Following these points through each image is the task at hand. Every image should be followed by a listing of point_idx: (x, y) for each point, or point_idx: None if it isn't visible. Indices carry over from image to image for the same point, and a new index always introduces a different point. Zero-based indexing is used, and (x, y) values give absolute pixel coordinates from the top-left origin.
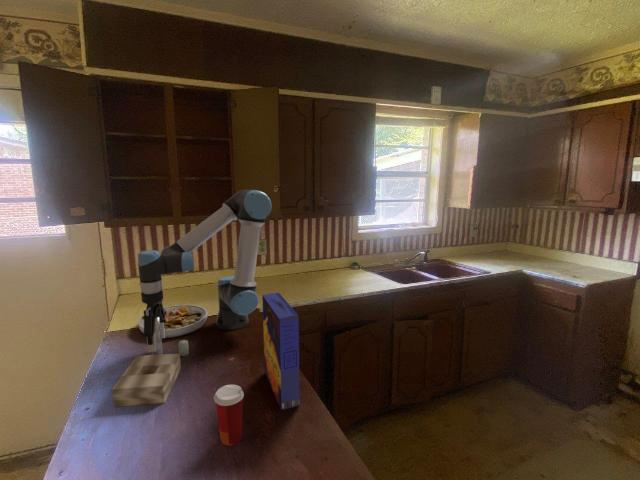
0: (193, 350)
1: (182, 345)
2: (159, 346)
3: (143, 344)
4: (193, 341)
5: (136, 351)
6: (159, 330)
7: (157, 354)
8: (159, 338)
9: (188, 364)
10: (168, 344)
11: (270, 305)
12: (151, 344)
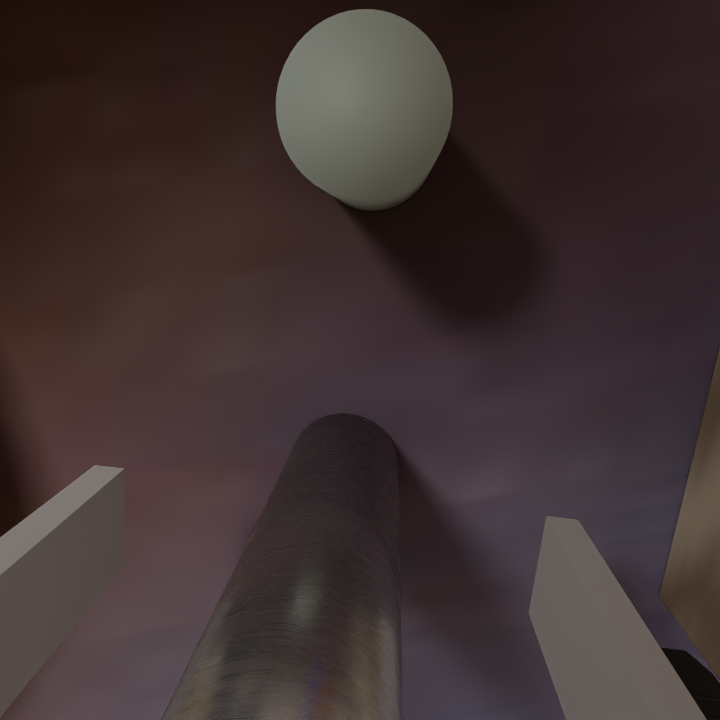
0: (303, 21)
1: (449, 114)
2: (382, 492)
3: (53, 654)
4: (27, 66)
5: None
6: (331, 684)
7: (397, 473)
8: (364, 559)
9: (700, 31)
10: (82, 393)
11: None
12: (691, 667)
